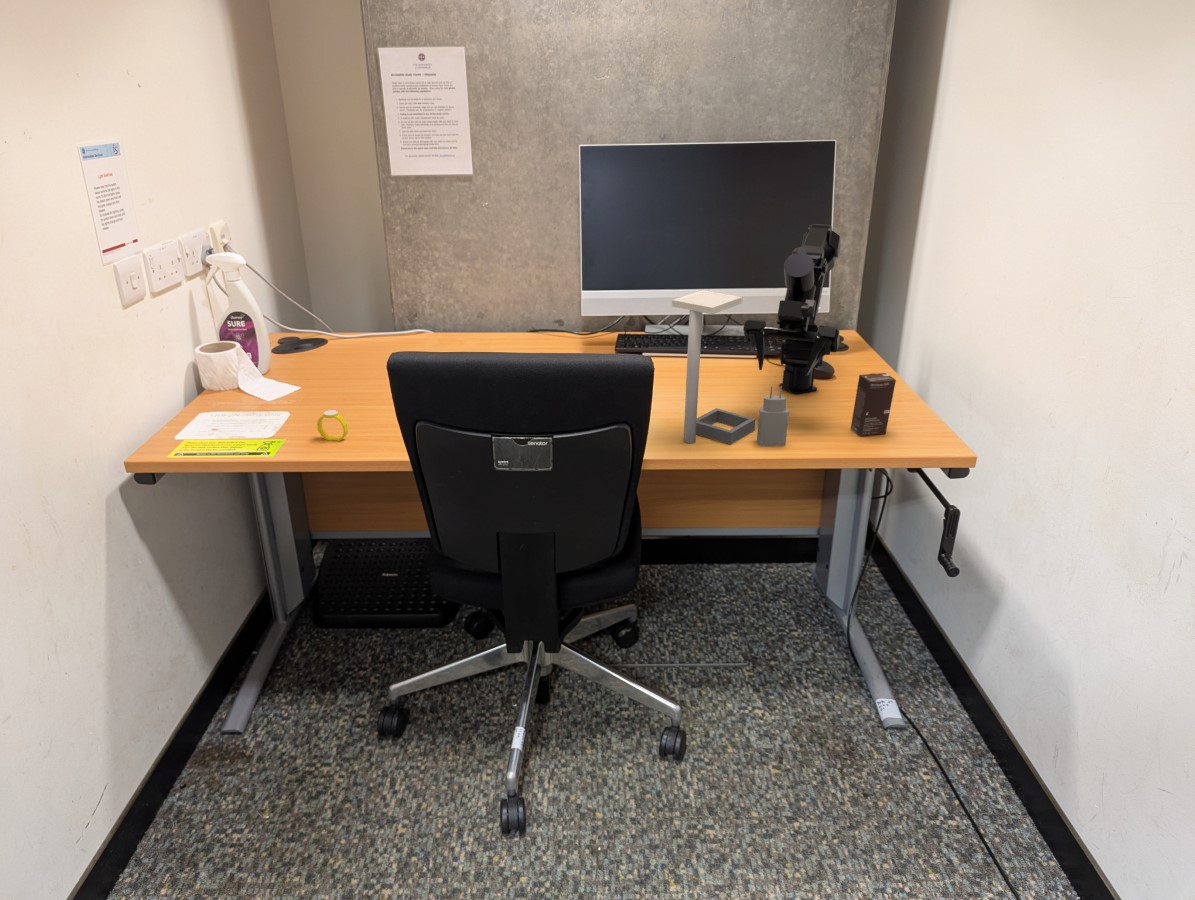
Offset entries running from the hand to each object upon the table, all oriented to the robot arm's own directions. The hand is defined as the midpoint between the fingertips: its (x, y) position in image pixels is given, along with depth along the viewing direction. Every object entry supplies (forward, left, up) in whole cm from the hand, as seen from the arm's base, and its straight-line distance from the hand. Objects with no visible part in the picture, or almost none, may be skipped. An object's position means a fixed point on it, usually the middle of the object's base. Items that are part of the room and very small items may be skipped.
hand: (783, 372), depth 161 cm
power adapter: (+5, +5, -13) cm, 15 cm away
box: (-17, +9, -13) cm, 23 cm away
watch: (+83, -34, -13) cm, 91 cm away
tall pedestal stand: (+13, -4, -13) cm, 19 cm away
